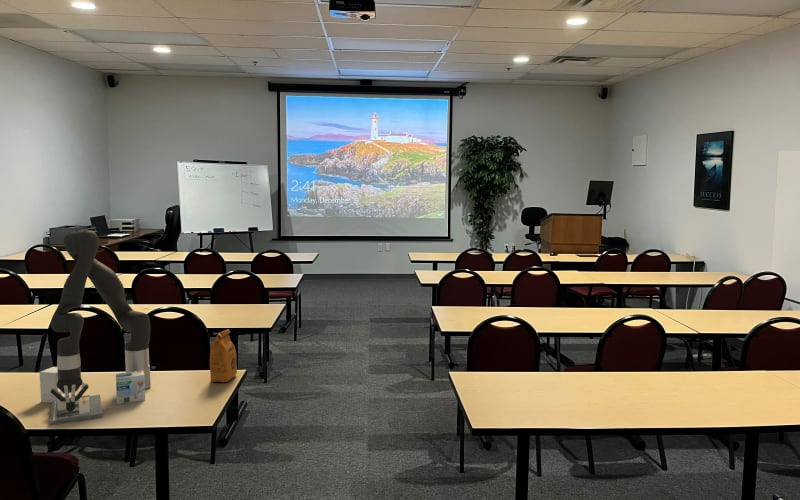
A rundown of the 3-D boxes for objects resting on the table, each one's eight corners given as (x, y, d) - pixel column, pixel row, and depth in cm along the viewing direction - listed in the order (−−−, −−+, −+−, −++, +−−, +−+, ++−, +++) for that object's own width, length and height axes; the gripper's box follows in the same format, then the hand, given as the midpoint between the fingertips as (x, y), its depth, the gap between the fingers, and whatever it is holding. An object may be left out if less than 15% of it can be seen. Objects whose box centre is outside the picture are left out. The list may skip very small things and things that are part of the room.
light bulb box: (116, 404, 236) (115, 378, 234) (116, 399, 241) (115, 373, 240) (146, 400, 240) (144, 374, 239) (144, 394, 246) (143, 369, 245)
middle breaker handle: (68, 405, 229) (67, 393, 228) (68, 409, 225) (67, 396, 225) (57, 407, 227) (57, 394, 226) (57, 410, 224) (56, 398, 223)
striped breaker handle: (89, 409, 226) (89, 396, 225) (90, 412, 222) (89, 399, 222) (79, 410, 224) (78, 397, 223) (79, 414, 220) (78, 401, 220)
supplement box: (56, 403, 236) (54, 373, 234) (40, 402, 237) (38, 371, 236) (70, 397, 243) (68, 367, 242) (54, 395, 245) (52, 366, 243)
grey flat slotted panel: (100, 398, 242) (99, 393, 242) (102, 416, 223) (102, 411, 223) (52, 405, 234) (51, 400, 234) (50, 425, 215) (49, 420, 215)
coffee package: (240, 375, 272) (239, 328, 269) (227, 384, 260) (226, 335, 257) (220, 373, 274) (219, 327, 271) (206, 382, 262) (205, 334, 259)
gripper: (88, 361, 226) (90, 405, 227) (48, 365, 219) (50, 410, 221) (89, 366, 219) (90, 411, 221) (47, 371, 213) (49, 417, 214)
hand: (70, 411), depth 221 cm, fingers closed
